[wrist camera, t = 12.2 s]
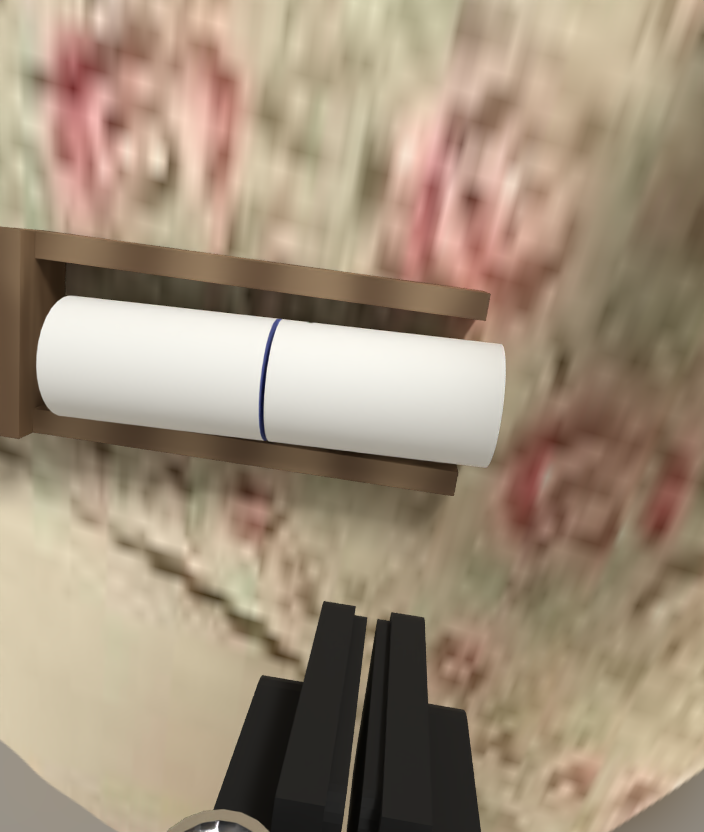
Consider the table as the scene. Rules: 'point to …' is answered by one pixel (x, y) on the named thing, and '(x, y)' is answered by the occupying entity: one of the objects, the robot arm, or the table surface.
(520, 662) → the table surface
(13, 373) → the U-rest
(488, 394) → the cylindrical container
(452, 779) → the robot arm
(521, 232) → the table surface
